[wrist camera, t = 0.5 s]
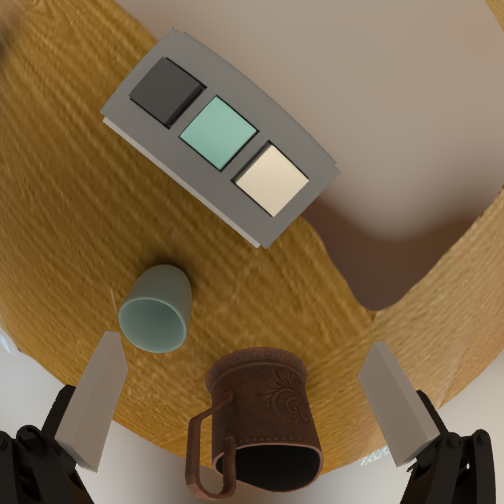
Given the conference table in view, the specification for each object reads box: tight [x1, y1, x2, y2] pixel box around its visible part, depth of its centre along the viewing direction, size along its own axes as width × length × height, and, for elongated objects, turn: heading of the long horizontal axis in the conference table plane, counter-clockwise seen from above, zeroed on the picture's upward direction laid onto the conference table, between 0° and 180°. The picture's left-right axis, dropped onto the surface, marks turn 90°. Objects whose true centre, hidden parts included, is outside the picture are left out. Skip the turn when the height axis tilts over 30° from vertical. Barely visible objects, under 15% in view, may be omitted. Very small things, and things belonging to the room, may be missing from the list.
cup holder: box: [185, 347, 324, 501], centre depth 33 cm, size 18×24×25 cm
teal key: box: [180, 97, 256, 169], centre depth 24 cm, size 5×5×3 cm
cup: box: [118, 264, 192, 353], centre depth 31 cm, size 8×8×10 cm
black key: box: [128, 56, 203, 125], centre depth 22 cm, size 5×5×3 cm
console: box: [100, 28, 340, 249], centre depth 27 cm, size 24×14×4 cm, turn 47°
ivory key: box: [235, 145, 309, 217], centre depth 27 cm, size 5×5×3 cm
